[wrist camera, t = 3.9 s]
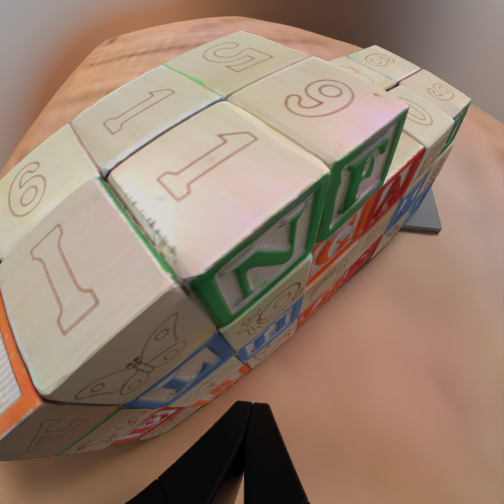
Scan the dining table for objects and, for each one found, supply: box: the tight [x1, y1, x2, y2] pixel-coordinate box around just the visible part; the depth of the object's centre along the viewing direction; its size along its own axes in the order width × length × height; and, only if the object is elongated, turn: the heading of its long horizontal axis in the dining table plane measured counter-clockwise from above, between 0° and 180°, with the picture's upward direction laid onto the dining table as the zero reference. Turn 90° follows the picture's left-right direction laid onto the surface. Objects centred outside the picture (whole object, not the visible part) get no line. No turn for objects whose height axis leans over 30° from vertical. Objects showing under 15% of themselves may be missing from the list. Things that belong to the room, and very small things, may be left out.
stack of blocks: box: [0, 31, 471, 461], centre depth 12 cm, size 21×6×12 cm, turn 130°
